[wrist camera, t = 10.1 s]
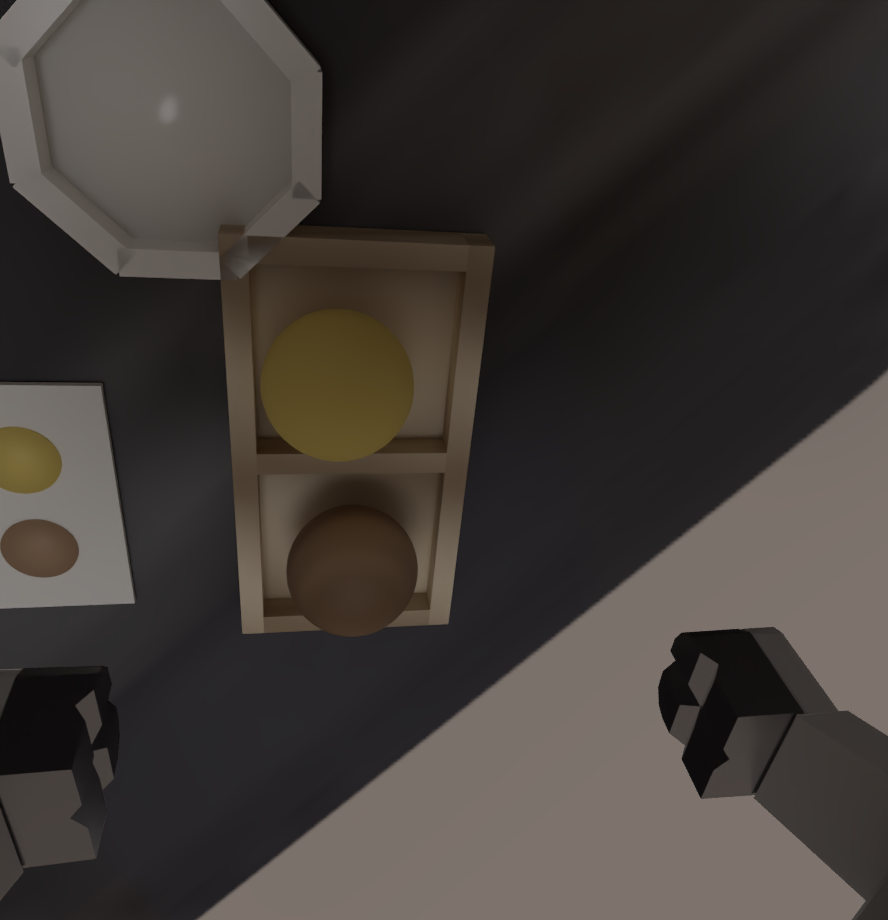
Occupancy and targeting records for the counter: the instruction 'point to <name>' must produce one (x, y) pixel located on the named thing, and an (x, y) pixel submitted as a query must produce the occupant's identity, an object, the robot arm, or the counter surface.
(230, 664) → the counter surface
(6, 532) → the card
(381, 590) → the walnut ball
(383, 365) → the mustard ball
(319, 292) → the twin rack
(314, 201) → the white bowl
